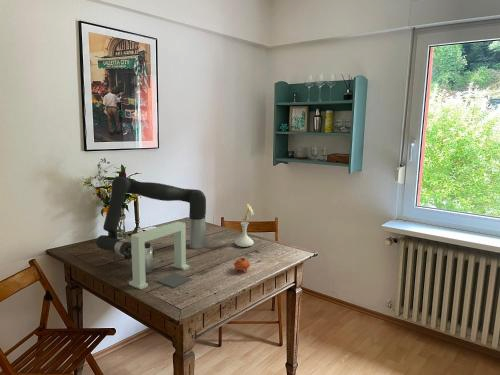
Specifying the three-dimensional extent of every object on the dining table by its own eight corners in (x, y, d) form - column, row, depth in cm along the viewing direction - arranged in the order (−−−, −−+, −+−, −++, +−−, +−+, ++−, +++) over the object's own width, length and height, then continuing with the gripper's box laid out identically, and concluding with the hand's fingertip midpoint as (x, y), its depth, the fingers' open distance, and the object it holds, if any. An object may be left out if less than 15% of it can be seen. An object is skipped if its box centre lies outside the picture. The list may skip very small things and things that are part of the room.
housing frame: (128, 284, 160) (126, 234, 156) (178, 263, 185) (177, 220, 181) (140, 289, 156) (138, 238, 152) (189, 267, 180) (189, 223, 176)
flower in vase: (247, 249, 207) (248, 207, 203) (230, 246, 213) (231, 205, 209) (258, 243, 219) (259, 203, 214) (242, 240, 224) (243, 201, 220)
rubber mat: (156, 281, 164) (156, 280, 164) (174, 273, 173) (174, 272, 173) (173, 288, 158) (173, 287, 158) (191, 279, 167) (191, 278, 167)
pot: (254, 269, 179) (252, 257, 177) (243, 277, 174) (241, 265, 172) (242, 264, 184) (240, 253, 182) (231, 272, 179) (230, 260, 177)
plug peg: (152, 268, 178) (151, 241, 176) (153, 271, 174) (153, 244, 172) (143, 269, 176) (142, 242, 174) (144, 273, 173) (143, 245, 170)
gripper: (113, 245, 177) (133, 252, 168) (136, 238, 189) (157, 244, 180) (113, 259, 179) (134, 267, 170) (137, 251, 190) (158, 258, 181)
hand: (146, 255), depth 175 cm, fingers open, 8 cm apart
